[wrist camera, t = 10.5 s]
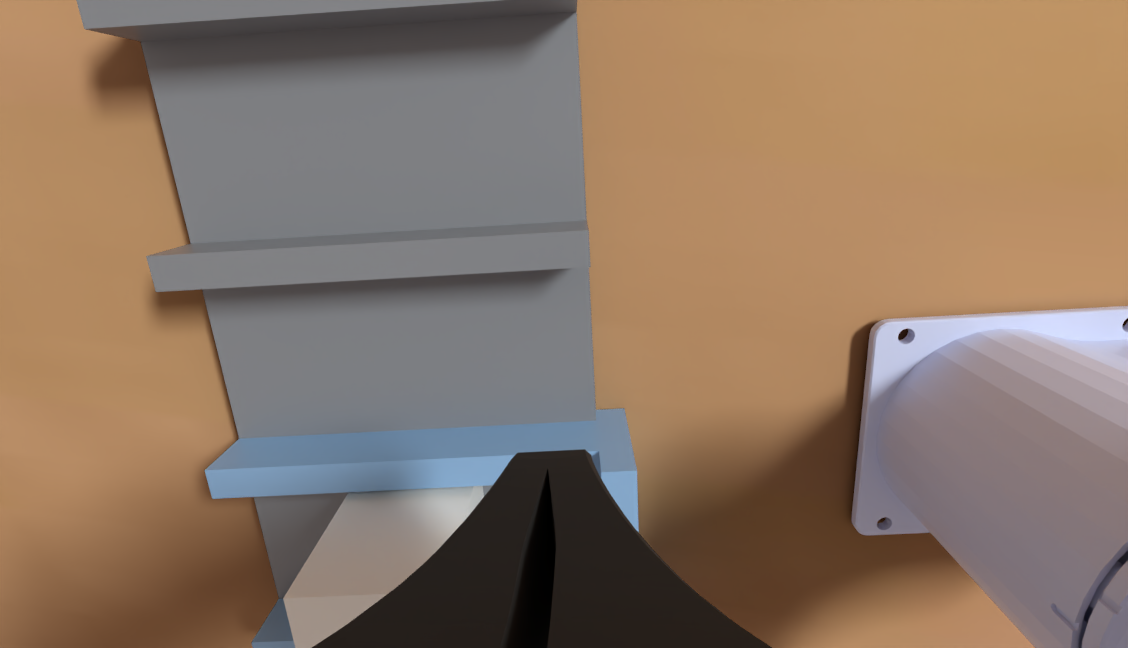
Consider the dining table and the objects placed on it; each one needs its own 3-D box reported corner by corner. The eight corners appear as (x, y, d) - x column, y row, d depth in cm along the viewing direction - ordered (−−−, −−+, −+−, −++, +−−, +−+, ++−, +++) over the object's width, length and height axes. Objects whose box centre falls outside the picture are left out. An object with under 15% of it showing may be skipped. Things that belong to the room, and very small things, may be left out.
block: (480, 462, 20) (444, 591, 15) (491, 561, 21) (463, 715, 16) (363, 468, 20) (283, 598, 15) (380, 566, 22) (313, 721, 16)
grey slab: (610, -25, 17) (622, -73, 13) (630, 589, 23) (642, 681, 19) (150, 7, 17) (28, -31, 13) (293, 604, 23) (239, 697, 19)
